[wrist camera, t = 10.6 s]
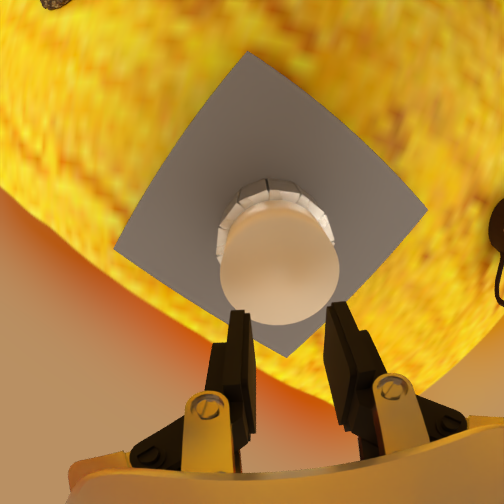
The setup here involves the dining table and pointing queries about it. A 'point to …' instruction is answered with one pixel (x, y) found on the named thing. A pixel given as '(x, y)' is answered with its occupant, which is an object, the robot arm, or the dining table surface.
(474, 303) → the dining table surface
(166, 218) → the square plate with socket
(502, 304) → the coffee mug
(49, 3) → the seeded bread roll
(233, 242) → the plug
